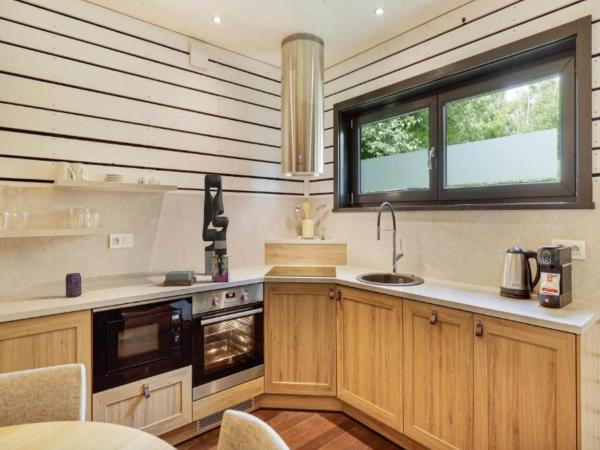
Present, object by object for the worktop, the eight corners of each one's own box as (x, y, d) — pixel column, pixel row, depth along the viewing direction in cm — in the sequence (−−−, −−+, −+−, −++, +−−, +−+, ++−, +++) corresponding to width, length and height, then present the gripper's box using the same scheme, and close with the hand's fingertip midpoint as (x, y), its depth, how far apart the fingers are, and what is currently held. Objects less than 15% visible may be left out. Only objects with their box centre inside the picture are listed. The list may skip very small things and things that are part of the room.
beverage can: (70, 295, 192) (70, 272, 191) (84, 294, 192) (83, 272, 192) (62, 297, 185) (62, 274, 184) (77, 297, 185) (76, 274, 185)
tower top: (171, 277, 226) (171, 271, 226) (193, 277, 226) (193, 270, 226) (165, 280, 215) (165, 273, 215) (188, 280, 215) (188, 273, 215)
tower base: (171, 283, 227) (170, 277, 227) (196, 282, 228) (196, 276, 228) (164, 287, 213) (163, 281, 213) (191, 286, 214) (190, 280, 214)
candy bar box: (211, 282, 226) (211, 256, 226) (214, 280, 231) (213, 255, 231) (228, 282, 225) (228, 256, 225) (230, 280, 230) (230, 255, 230)
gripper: (216, 246, 235) (217, 272, 235) (212, 248, 220) (213, 275, 221) (228, 246, 235) (228, 272, 235) (225, 248, 221) (225, 275, 221)
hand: (221, 273), depth 228 cm, fingers closed on candy bar box, 5 cm apart
